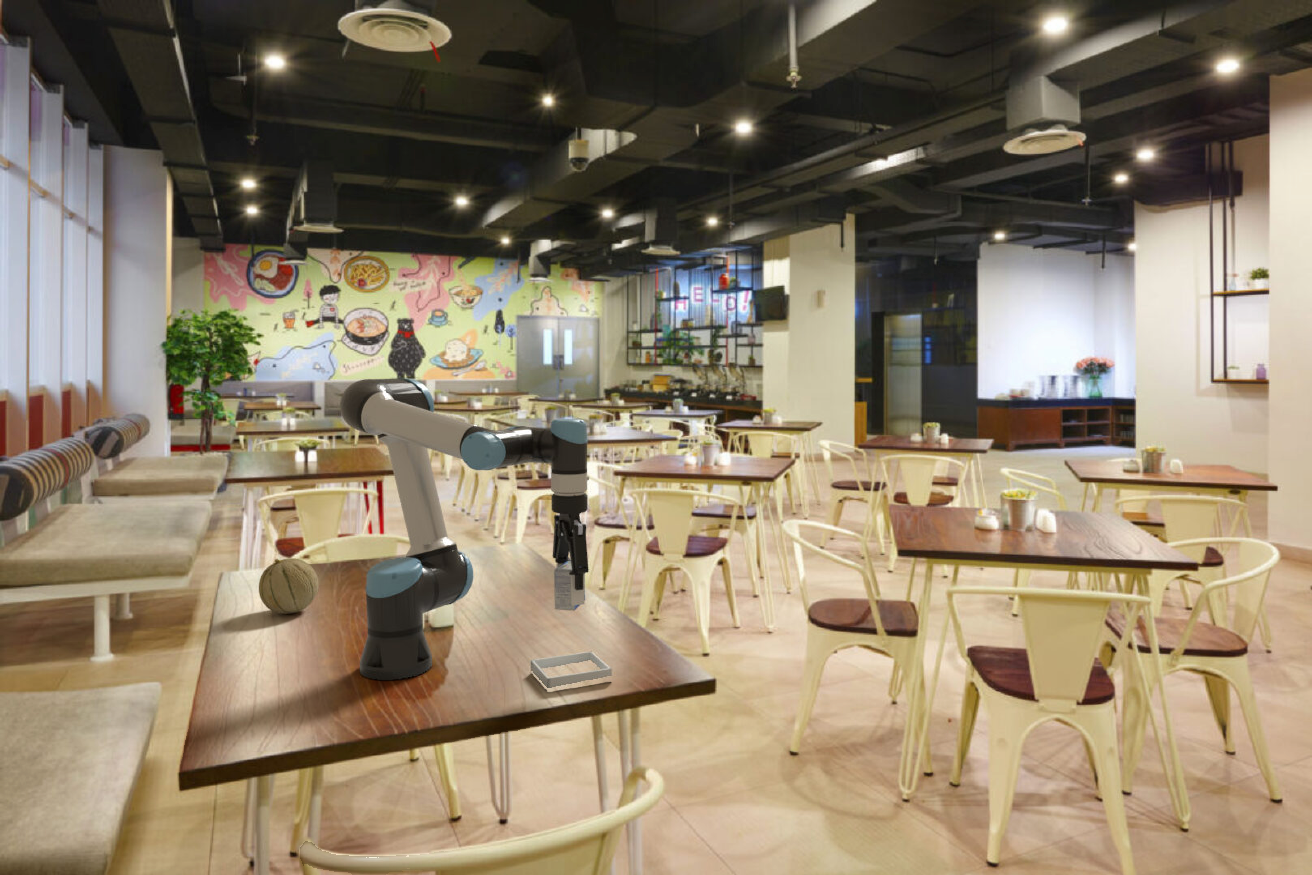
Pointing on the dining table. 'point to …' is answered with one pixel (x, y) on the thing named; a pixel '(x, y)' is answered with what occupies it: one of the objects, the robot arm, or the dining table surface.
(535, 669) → the walled tray
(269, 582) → the cantaloupe
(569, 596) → the medicine box
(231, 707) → the dining table surface
